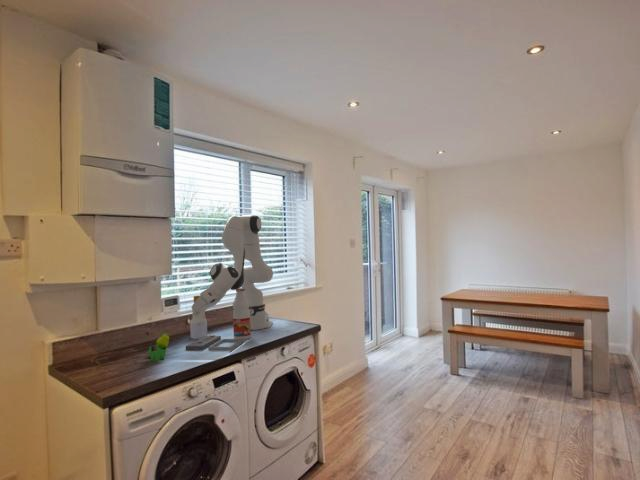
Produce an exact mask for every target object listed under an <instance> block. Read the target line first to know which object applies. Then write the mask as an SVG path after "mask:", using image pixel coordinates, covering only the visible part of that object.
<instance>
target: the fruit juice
mask: <svg viewBox="0 0 640 480" xmlns="http://www.w3.org/2000/svg"><path fill="white" fill-rule="evenodd" d="M244 291H245V288H242V287H240V288H238V289H236V290H235V292H236V294H235V298H234V300H233V302H232V308H233V313H232V324H233V328H232V329H233V339H243V340H248V341H249V340H250V339H251V337H252V330H251V322H250V311H249V301H248V300H247V298H246V295H245V293H244Z"/></svg>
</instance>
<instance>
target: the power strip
mask: <svg viewBox="0 0 640 480" xmlns="http://www.w3.org/2000/svg"><path fill="white" fill-rule="evenodd" d="M220 340H222V337H221V335H215V334H211V335H207V336H204V337H202V338H199V339H197V340H195V341H193V342H191V343H188V344H187V345H185V351H203V350H205V349H207V348H208V347H209V346H211V345H213V344H215V343H216V342H218V341H220Z"/></svg>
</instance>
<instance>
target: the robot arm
mask: <svg viewBox="0 0 640 480" xmlns="http://www.w3.org/2000/svg"><path fill="white" fill-rule="evenodd" d="M261 229H262V220H261V218H260V217H259V215H255V214H254V215H252V214H251V215H248V214H247V215H232V216H230V217H228V218H227V219H226V220H225V224H224V229H223V231H222V234H221V242H222V243H223V246H224V247H225V248H226V249H227V250H228V251H229V252H230V253H231V255H232V256H233V259H234V262H233V264H234V265H233V266H229V265H226V263H223V262H216V263H215V264H214V265H213V266H212V267H211V268H210V270H209V276H210V278H211V280H212V281H213V282H212V283H211V284H210V285H208V287H207V288H206V289H205V290H203V291H201V292H200V293H199V296H200V297H199V298H198V299H197V300H196V301H195V303H194V302H193V304H192V305H191V309H193V310H194V311H195V312H194V313H192V316H193V315H194V316H196V315H197V314H198V313H199V311H202V310H204V309H205V311H207V310H208V309H209V308H212V307H215V306H216V305H217V304H218V303H220V302H221V300H222V299H223V298H224V296H225V295H226V294H227V293H228V291H230V290H231V291H236V289H238V288H245V291H244V293H245V295H246V298H247V300H248V301H249V311H250V322H251V331H255V330H262V329H269V328H271V326H272V325H273V321H272V320H270V317H269V316H270V315H269V314H268V312H267V311H266V310H265V309H266V308H265V307H266V303H264V293H263V292H262V290H261V289H259V288H257V287H256V286H255V284H262V283H268V282H271V280H272V279H273V276H274V271H273V269H272V267H271V266H269V265H268V264H267V263H266V262H265V261H264V259H263V256H262V254H261V247H260V245H261V244H260V237H259V232H260V231H261ZM245 260H247V261H248V262H250V264H251V265H245Z"/></svg>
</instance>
